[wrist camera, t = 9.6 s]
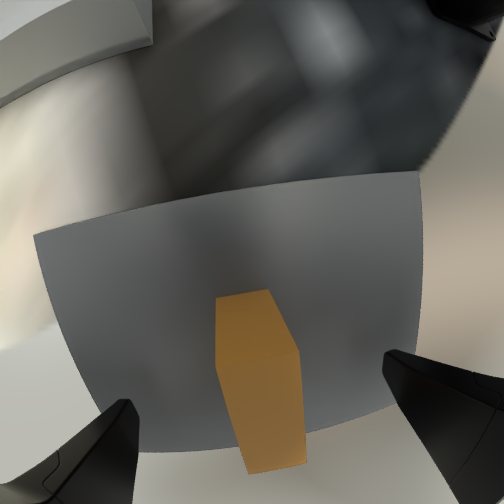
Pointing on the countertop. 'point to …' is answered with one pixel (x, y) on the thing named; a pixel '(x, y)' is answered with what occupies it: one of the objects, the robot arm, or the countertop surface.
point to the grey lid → (243, 309)
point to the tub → (65, 38)
